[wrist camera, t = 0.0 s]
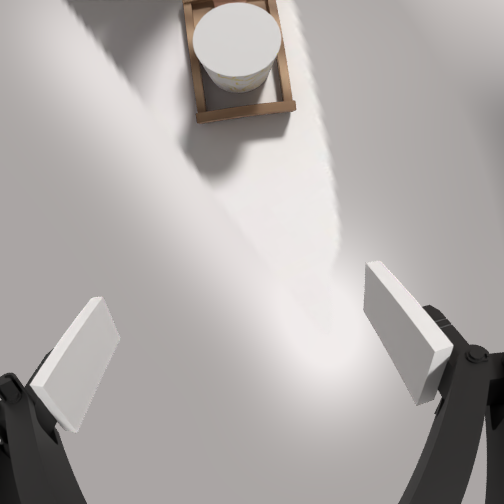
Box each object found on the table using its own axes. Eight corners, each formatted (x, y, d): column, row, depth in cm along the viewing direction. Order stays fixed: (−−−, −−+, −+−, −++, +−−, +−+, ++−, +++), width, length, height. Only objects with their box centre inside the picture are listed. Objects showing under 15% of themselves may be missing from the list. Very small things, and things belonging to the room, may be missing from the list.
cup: (222, 102, 36) (213, 90, 24) (197, 52, 33) (179, 22, 22) (280, 79, 34) (295, 58, 23) (254, 29, 32) (259, -8, 20)
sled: (184, 1, 29) (162, -42, 17) (271, -11, 29) (282, -57, 17) (200, 123, 36) (181, 120, 24) (292, 111, 36) (314, 102, 24)
